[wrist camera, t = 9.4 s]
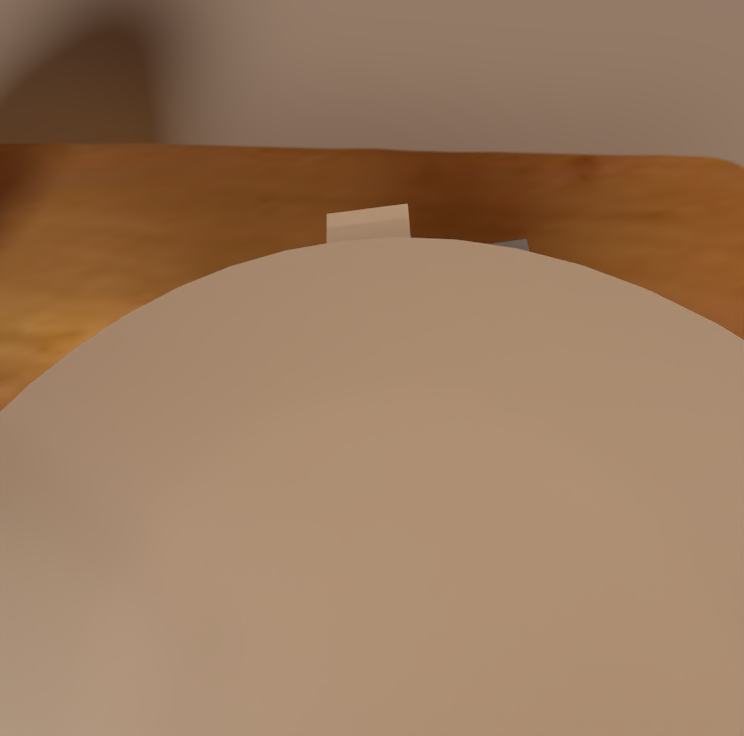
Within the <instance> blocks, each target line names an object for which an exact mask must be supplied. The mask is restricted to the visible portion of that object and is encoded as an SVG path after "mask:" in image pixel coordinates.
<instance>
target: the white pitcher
mask: <svg viewBox="0 0 744 736" xmlns="http://www.w3.org/2000/svg"><path fill="white" fill-rule="evenodd" d="M0 736H744V340H743V339H741V338H739V337H738V336H736V335H735V334H733V333H731V332H730V331H728V330H727V329H725V328H723V327H722V326H720V325H719V324H717V323H715V322H713V321H711V320H709V319H707V318H705V317H703V316H700V315H698V314H696V313H694V312H692V311H690V310H688V309H686V308H684V307H682V306H680V305H678V304H676V303H674V302H672V301H670V300H668V299H666V298H664V297H662V296H660V295H658V294H656V293H654V292H652V291H650V290H648V289H645V288H642V287H639V286H637V285H634V284H631V283H629V282H626V281H623V280H621V279H618V278H615V277H613V276H610V275H607V274H604V273H602V272H599V271H596V270H594V269H591V268H588V267H586V266H583V265H580V264H576V263H572V262H568V261H564V260H560V259H556V258H552V257H549V256H545V255H541V254H537V253H533V252H529V251H525V250H521V249H517V248H511V247H504V246H497V245H490V244H483V243H477V242H470V241H463V240H456V239H431V238H411V233H410V222H409V212H408V204H400V205H393V206H385V207H377V208H369V209H362V210H354V211H346V212H338V213H331V214H327V243H326V244H320V245H315V246H309V247H303V248H297V249H292V250H286V251H282V252H279V253H275V254H272V255H268V256H265V257H261V258H258V259H254V260H251V261H247V262H244V263H240V264H237V265H233V266H230V267H227V268H225V269H223V270H220V271H218V272H215V273H213V274H210V275H208V276H205V277H203V278H200V279H198V280H195V281H193V282H190V283H188V284H185V285H183V286H180V287H178V288H176V289H174V290H172V291H170V292H168V293H166V294H164V295H163V296H161V297H159V298H157V299H155V300H153V301H151V302H149V303H147V304H145V305H143V306H142V307H140V308H138V309H136V310H134V311H132V312H130V313H128V314H126V315H125V316H123V317H122V318H120V319H119V320H117V321H116V322H114V323H113V324H111V325H110V326H108V327H106V328H105V329H103V330H102V331H100V332H99V333H97V334H96V335H94V336H93V337H91V338H90V339H88V340H87V341H85V342H84V343H82V344H80V345H79V346H77V347H76V348H75V349H73V350H72V351H71V352H70V353H68V354H67V355H66V356H65V357H63V358H62V359H61V360H60V361H58V362H57V363H56V364H55V365H53V366H52V367H51V368H50V369H48V370H47V371H46V372H45V373H43V374H42V375H41V376H40V377H38V378H37V379H36V380H35V381H33V382H32V383H31V384H30V385H28V386H27V387H26V388H25V389H24V390H23V391H22V392H21V393H20V394H19V395H18V396H17V397H15V398H14V399H13V400H12V401H11V402H10V403H9V404H8V405H7V406H6V407H5V408H4V409H3V410H2V411H1V412H0Z"/></svg>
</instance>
